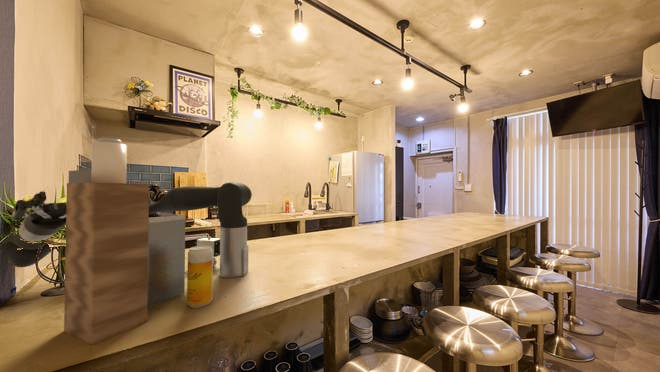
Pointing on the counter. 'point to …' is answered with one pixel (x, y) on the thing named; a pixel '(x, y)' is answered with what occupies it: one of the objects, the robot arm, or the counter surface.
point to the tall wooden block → (106, 259)
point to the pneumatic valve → (210, 242)
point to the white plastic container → (104, 163)
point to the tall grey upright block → (166, 258)
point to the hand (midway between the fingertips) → (67, 194)
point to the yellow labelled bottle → (200, 276)
